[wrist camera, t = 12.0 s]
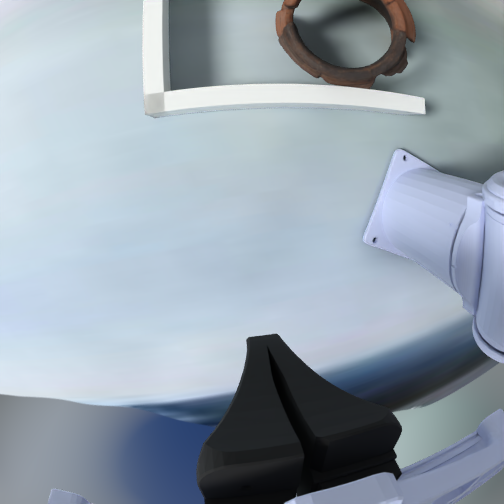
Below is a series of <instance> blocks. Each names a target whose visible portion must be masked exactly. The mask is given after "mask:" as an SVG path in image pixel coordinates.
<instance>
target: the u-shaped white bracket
mask: <svg viewBox="0 0 504 504" xmlns="http://www.w3.org/2000/svg"><path fill="white" fill-rule="evenodd" d="M143 88H144V108H145V115H148V116H151V117H153V118H158V117H165V116H173V115H181V114H189V113H198V112H209V111H221V110H236V109H256V108H324V109H345V110H359V111H371V112H381V113H390V114H398V115H416V114H425V98H421V97H416V96H411V95H405V94H399V93H393V92H386V91H379V90H372V89H363V88H354V87H343V86H330V85H312V84H242V85H224V86H211V87H200V88H190V89H182V90H174V91H171V86H170V60H169V0H143Z"/></svg>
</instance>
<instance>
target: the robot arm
mask: <svg viewBox="0 0 504 504" xmlns="http://www.w3.org/2000/svg"><path fill="white" fill-rule="evenodd" d="M404 155H405V157H406V159H405V160H403V156H404ZM375 237H376V240H375V241H374V242H373V238H375ZM363 240H364V242H365V243H367V244H368V245H371V246H374V247H377V248H380V249H383V250H386V251H389V252H391V253H394V254H397V255H400V256H403V257H406V258H408V259H411V260H414V261H415V262H416V263H418V264H419V265H421V266H422V267H423V268H425V269H426V270H428V271H429V272H430V273H432V274H433V275H434V276H436V277H437V278H439V279H440V280H441V281H443V282H444V283H445V284H447V285H448V286H449V287H451V288H452V289H453V290H454V291H456V292H457V293H459V294H460V295H461V297H462V299H463V308H465V309H466V310H467V311H468V312H469V313H471V314H472V315H473V316H474V318H473V326H472V329H473V336H474V339H475V341H476V343H477V345H478V346H479V347H480V349H481V350H482V351H483V352H484V353H485V354H486V355H488V356H489V357H491V358H492V359H494V360H496V361H498V362H500V363H504V171H500V172H497V173H495V174H494V175H492V176H491V178H490V179H489V180H487V181H486V182H485V183H484V184H481V183H478V182H474V181H471V180H467V179H463V178H460V177H456V176H452V175H448V174H444V173H441V172H439V171H438V170H436V169H435V168H433V167H431V166H430V165H428V164H426V163H425V162H423V161H421V160H420V159H418V158H416V157H415V156H413V155H411V154H409V153H408V152H406V151H404V150H402V149H396V150H395V151H394V154H393V157H392V160H391V163H390V166H389V169H388V172H387V175H386V177H385V180H384V183H383V186H382V189H381V191H380V194H379V197H378V200H377V202H376V205H375V208H374V210H373V213H372V215H371V218H370V220H369V223H368V226H367V228H366V231H365V233H364V235H363ZM246 341H247V355H246V361H245V366H244V370H243V373H242V377H241V380H240V383H239V386H238V388H237V391H236V393H235V396H234V398H233V400H232V402H231V404H230V406H229V408H228V410H227V411H226V413H225V415H224V416H223V418H222V419H221V421H220V422H219V424H218V425H217V427H216V428H215V430H214V431H213V432H212V433H211V435H210V436H209V437H208V438H207V440H206V441H205V442H204V443H203V447H202V449H201V452H200V455H199V459H198V463H197V484H198V487H199V489H200V491H201V493H202V495H203V497H204V499H205V504H455V503H456V502H458V501H459V500H461V499H462V498H464V497H465V496H467V495H468V494H470V493H471V492H472V491H474V490H475V489H476V488H478V487H479V486H481V485H482V484H483V483H485V482H486V481H488V480H489V479H490V478H491V477H493V476H494V475H495V474H497V473H498V472H499V471H501V469H502V468H503V467H504V411H503V410H502V409H498V410H497V411H495V412H494V413H492V414H491V415H489V416H488V417H486V418H485V419H484V420H483V421H482V422H481V423H480V425H479V426H478V428H477V430H476V431H475V432H473V433H472V434H470V435H468V436H466V437H465V438H463V439H461V440H460V441H458V442H456V443H454V444H452V445H451V446H449V447H447V448H445V449H443V450H441V451H439V452H437V453H435V454H433V455H432V456H429V457H427V458H425V459H423V460H421V461H418V462H417V463H414V464H412V465H410V466H407V467H405V468H403V469H400V468H399V467H398V465H397V463H396V461H395V459H396V457H397V455H396V453H395V451H394V450H393V448H394V446H395V445H396V443H397V441H398V439H399V437H400V435H401V432H402V426H401V425H400V423H399V421H398V420H397V418H396V417H395V415H394V414H393V413H392V412H391V411H390V409H389V408H388V407H384V406H381V405H378V404H374V403H371V402H368V401H365V400H363V399H360V398H358V397H355V396H353V395H351V394H349V393H347V392H345V391H343V390H341V389H340V388H338V387H336V386H334V385H333V384H331V383H329V382H328V381H326V380H325V379H324V378H322V377H321V376H319V375H318V374H317V373H316V372H314V371H313V370H312V369H311V368H310V367H308V366H307V365H306V364H305V363H304V362H303V361H302V360H301V359H300V358H299V357H298V356H297V355H296V354H295V353H294V352H293V351H292V350H291V349H290V348H289V347H288V346H287V345H286V344H285V342H284V341H283V340H282V339H281V337H280V336H279V335H278V334H271V335H263V336H255V337H249V338H248V339H247V340H246ZM296 493H297V497H296ZM48 504H92V503H89V502H88V501H87V500H86V499H85V498H84V497H82V496H81V495H78V494H76V493H72V492H68V491H64V490H59V489H55V488H52V489H51V493H50V497H49V501H48Z"/></svg>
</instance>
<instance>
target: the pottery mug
mask: <svg viewBox="0 0 504 504" xmlns="http://www.w3.org/2000/svg"><path fill="white" fill-rule="evenodd" d="M300 1H301V0H284V2H283V5H282V9H281V10H280V11H277V13H276V31H277V35H278V37H279V43H280V45H281V46H282V47H283V49H284V50H285V51H286V53H287V54H288V55H289V56H290V57H291V59H293V61H294V62H295V63H296V64H297V65H299V66H300V67H301V68H302V69H303V70H305V71H306V72H308V73H309V74H310V75H312V76H313V77H315V78H319V77H322V78H323V79H324V80H325V81H326V82H327V83H330V84H334V85H340V86H348V87H354V88H363V89H370V87H371V86H372V85H373V83H374V81H375V78H376V77H377V76H378V75H380V74H383V75H385V76H392V75H394V74H396V73H402V72H403V70H404V69H405V68H406V66H407V65H408V62H407V51H406V48H405V44H406V38H408V39H409V40H410V41H411V42H413V43H414V42H415V37H416V33H415V25H414V21H413V18H412V15H411V12H410V10H409V8H408V7H407V5H406V3H405V2H404V0H360V1H363V2H365V3H367V4H369V5H370V6H372V7H374V8H375V9H376V10H377V11H378V12H379V13H380V14H381V15H382V16H383V17H384V18H385V19H386V21H387V23H388V25H389V27H390V31H391V40H392V42H391V45H390V47H389V49H388V51H387V52H386V53H385V54H384V55H383V56H382V57H381V58H380V59H379V60H378V61H376V62H375V63H373V64H371V65H369V66H365V67H360V68H345V67H340V66H335V65H332V64H330V63H328V62H326V61H324V60H322V59H320V58H319V57H318V56H316V55H315V54H314V53H313V52H311V51H310V50H309V49H308V48H307V46H306V45H305V44H304V42H303V41H302V39H301V37H300V35H299V33H298V30H297V27H296V25H295V23H293V13H294V10H295V8H297V7H298V5H299V3H300Z"/></svg>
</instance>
